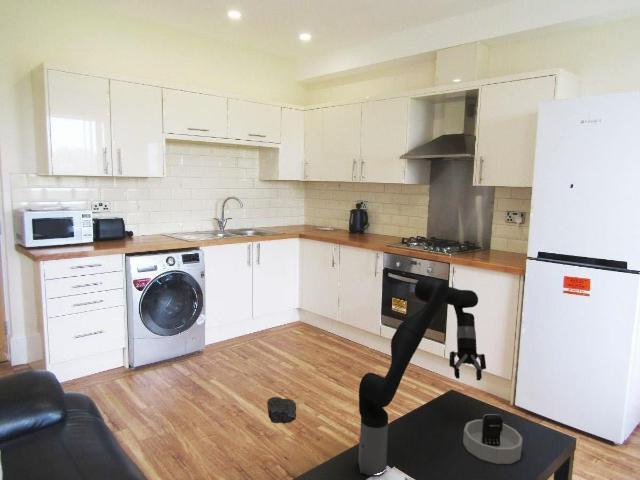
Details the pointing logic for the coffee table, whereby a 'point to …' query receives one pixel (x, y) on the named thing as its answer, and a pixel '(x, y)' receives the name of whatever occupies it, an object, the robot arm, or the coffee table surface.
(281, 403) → the rock
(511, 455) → the bowl
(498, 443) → the battery charger
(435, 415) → the coffee table surface
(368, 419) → the robot arm
